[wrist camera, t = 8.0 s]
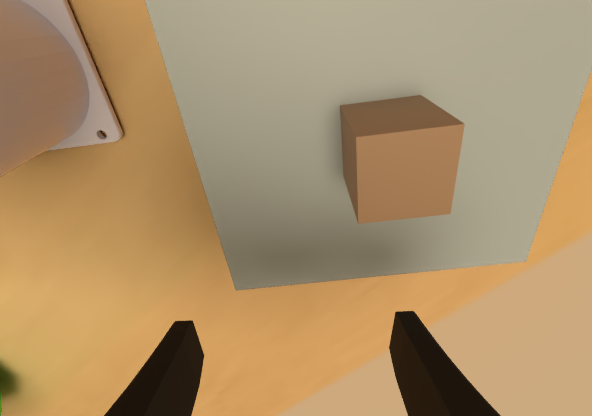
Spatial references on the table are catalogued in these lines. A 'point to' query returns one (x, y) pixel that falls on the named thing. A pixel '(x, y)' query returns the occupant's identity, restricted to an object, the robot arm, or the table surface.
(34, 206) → the table surface
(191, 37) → the lid
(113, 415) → the robot arm
